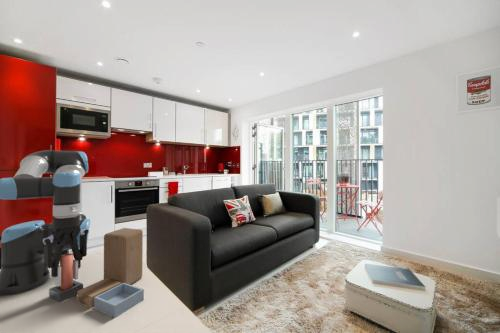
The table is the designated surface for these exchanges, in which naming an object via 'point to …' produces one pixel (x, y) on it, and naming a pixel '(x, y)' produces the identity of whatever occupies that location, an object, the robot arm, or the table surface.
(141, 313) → the table surface
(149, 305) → the table surface
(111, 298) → the tray
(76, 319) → the table surface
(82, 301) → the cardboard box
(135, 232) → the wooden block
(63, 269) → the dowel
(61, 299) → the socket
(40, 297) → the table surface
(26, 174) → the robot arm
